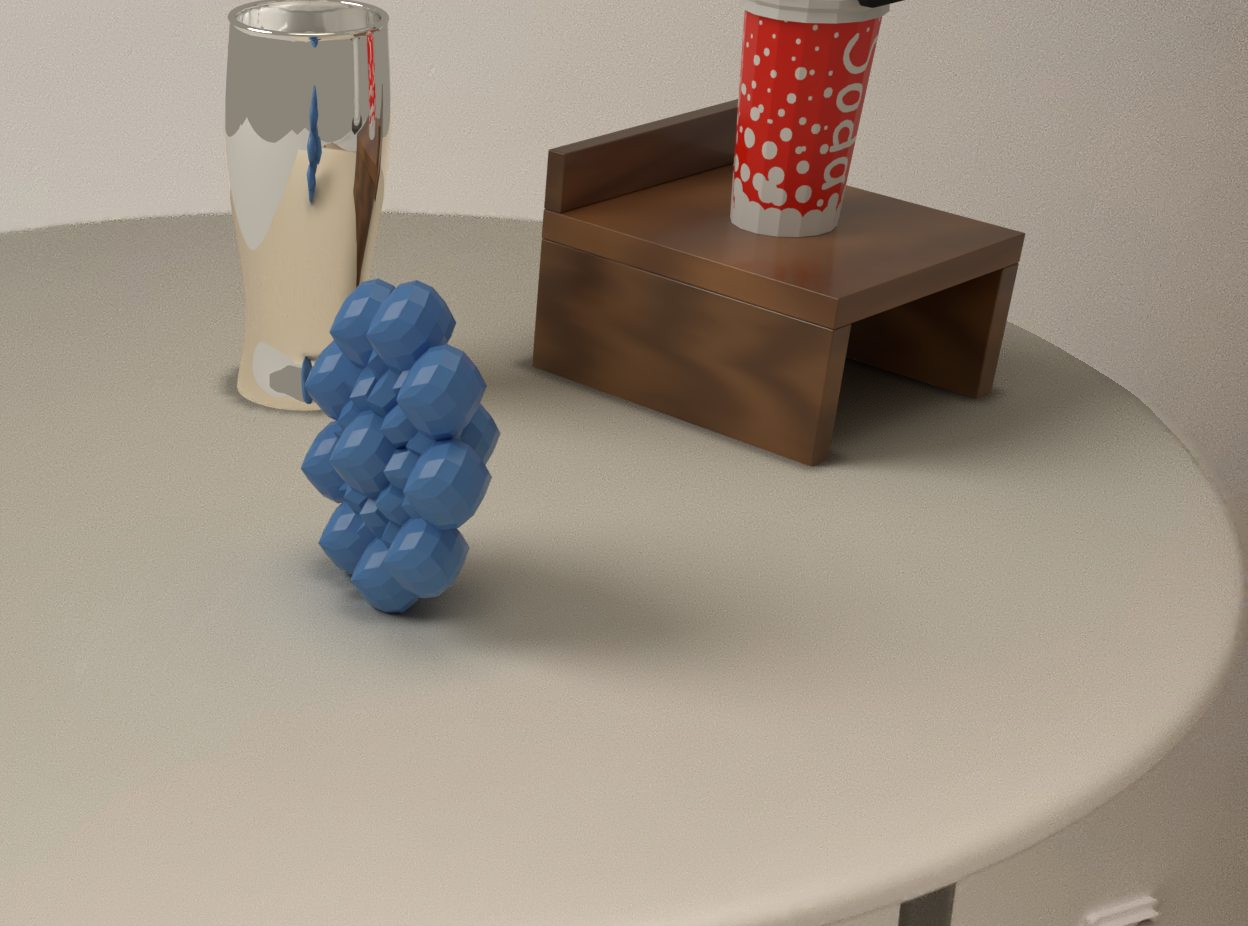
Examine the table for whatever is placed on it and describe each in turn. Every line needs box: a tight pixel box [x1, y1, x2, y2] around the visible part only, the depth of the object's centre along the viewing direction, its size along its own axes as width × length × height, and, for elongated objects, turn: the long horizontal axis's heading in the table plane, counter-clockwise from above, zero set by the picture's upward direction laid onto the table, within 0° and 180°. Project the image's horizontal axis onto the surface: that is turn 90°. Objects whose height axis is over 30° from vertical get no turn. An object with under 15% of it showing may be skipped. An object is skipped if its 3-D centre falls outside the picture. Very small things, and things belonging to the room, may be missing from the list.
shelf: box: [531, 98, 1026, 467], centre depth 96 cm, size 16×13×9 cm
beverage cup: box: [730, 0, 891, 237], centre depth 89 cm, size 6×6×14 cm
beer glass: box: [223, 0, 392, 412], centre depth 93 cm, size 7×7×15 cm
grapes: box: [300, 277, 501, 614], centre depth 77 cm, size 12×7×12 cm, turn 23°
